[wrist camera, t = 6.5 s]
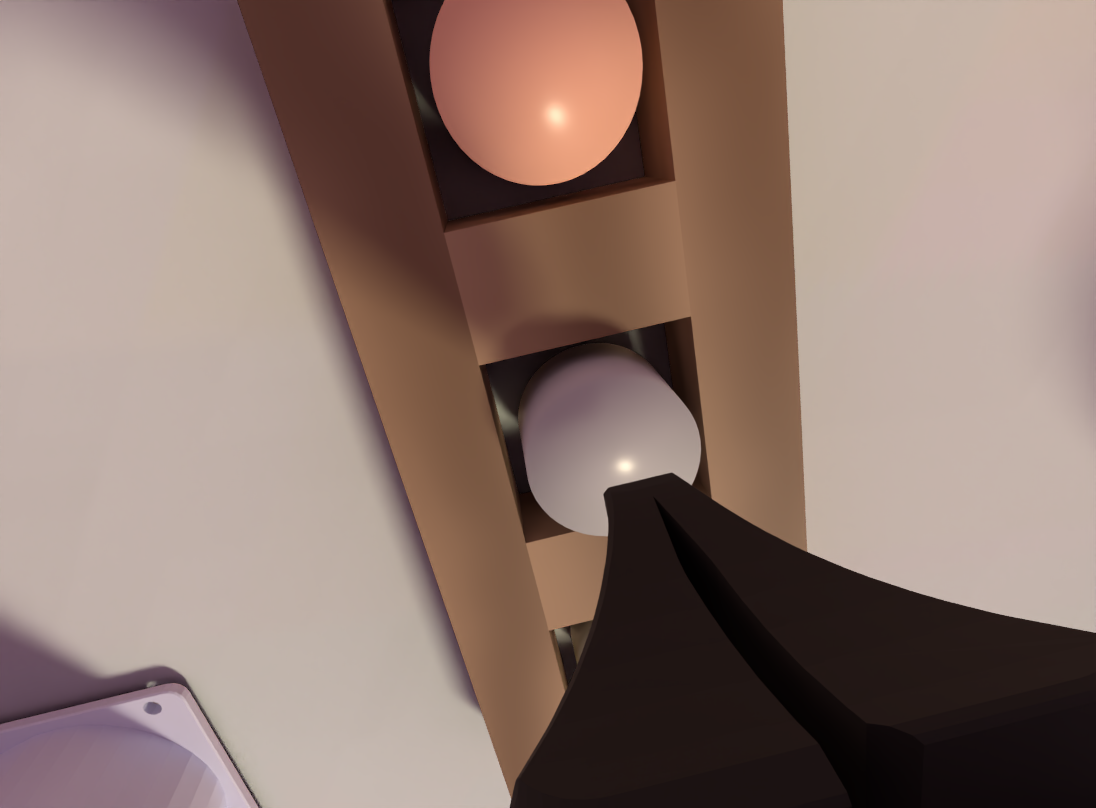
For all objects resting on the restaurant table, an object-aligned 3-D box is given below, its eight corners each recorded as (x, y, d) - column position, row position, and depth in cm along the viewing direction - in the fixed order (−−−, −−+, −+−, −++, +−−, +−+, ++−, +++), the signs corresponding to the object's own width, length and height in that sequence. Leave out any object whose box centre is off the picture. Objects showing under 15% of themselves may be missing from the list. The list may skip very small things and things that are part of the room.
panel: (508, 735, 22) (513, 803, 20) (244, -76, 13) (193, -127, 10) (779, 667, 22) (814, 726, 20) (717, -175, 13) (771, -246, 11)
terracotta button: (462, 196, 15) (460, 205, 12) (414, 2, 13) (402, -32, 11) (625, 160, 15) (656, 161, 12) (597, -37, 13) (625, -79, 11)
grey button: (535, 496, 17) (546, 553, 15) (502, 363, 16) (508, 401, 13) (676, 463, 17) (709, 514, 15) (657, 327, 16) (690, 359, 13)
